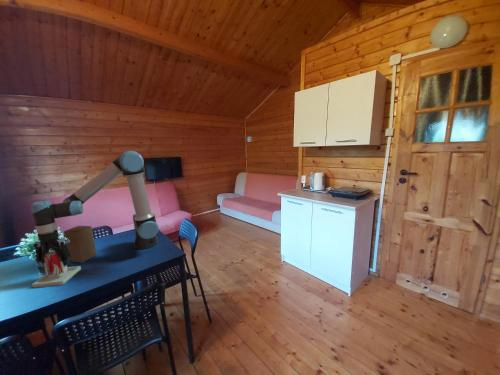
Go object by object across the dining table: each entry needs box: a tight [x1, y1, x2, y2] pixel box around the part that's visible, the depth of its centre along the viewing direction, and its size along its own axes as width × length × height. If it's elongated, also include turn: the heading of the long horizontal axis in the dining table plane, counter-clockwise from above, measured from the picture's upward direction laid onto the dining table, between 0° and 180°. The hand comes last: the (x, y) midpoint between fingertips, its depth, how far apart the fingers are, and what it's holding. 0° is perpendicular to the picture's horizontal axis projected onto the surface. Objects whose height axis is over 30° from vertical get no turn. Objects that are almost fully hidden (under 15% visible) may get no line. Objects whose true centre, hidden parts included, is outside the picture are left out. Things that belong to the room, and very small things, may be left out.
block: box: [63, 225, 98, 263], centre depth 132 cm, size 10×10×20 cm
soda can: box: [44, 249, 63, 276], centre depth 112 cm, size 7×7×12 cm
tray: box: [31, 265, 82, 289], centre depth 114 cm, size 14×14×2 cm
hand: (57, 272), depth 114 cm, fingers closed on soda can, 7 cm apart
